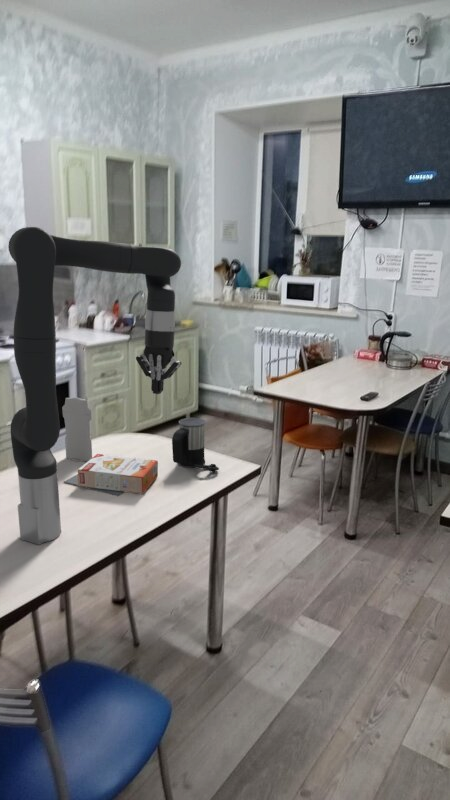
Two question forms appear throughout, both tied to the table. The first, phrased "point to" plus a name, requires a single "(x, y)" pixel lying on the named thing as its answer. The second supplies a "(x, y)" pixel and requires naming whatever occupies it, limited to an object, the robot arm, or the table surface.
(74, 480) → the mat
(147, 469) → the cracker box
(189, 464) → the milk frother
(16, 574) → the table surface
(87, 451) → the tall pale column
